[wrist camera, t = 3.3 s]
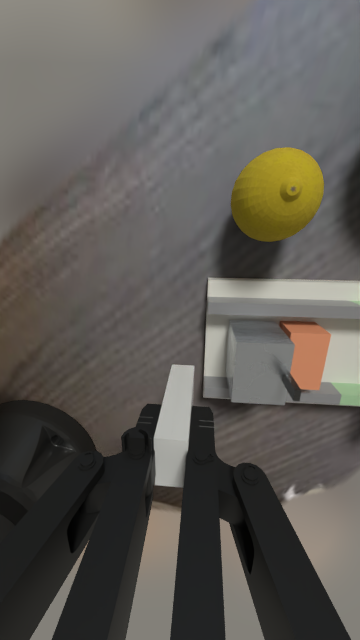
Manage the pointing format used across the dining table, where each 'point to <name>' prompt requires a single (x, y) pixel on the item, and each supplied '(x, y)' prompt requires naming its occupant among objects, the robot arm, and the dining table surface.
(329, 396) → the board
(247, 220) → the lemon
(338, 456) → the dining table surface
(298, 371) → the orange block
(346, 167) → the dining table surface
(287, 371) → the gauge plunger
